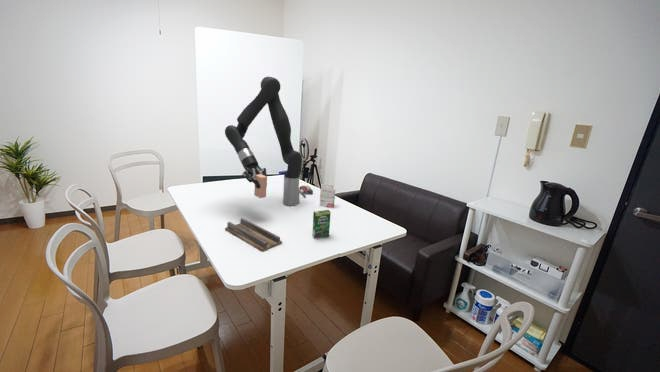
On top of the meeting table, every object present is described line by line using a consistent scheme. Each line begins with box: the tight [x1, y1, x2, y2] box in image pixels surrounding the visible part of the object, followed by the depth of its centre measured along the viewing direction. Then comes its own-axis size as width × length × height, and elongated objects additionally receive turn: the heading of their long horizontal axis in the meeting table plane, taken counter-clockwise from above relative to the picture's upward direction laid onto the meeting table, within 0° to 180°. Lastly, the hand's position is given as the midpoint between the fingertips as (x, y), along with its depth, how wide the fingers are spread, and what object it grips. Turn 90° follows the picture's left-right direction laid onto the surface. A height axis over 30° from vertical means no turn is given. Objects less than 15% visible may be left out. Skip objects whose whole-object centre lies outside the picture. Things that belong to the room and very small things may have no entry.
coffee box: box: [312, 209, 331, 239], centre depth 139 cm, size 8×3×13 cm, turn 114°
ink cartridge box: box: [319, 183, 336, 209], centre depth 180 cm, size 9×5×15 cm, turn 76°
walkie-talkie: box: [299, 185, 314, 198], centre depth 202 cm, size 9×4×20 cm
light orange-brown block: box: [253, 174, 268, 199], centre depth 148 cm, size 4×5×11 cm
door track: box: [224, 217, 283, 252], centre depth 134 cm, size 11×28×4 cm, turn 51°
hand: (262, 187), depth 147 cm, fingers closed on light orange-brown block, 3 cm apart
